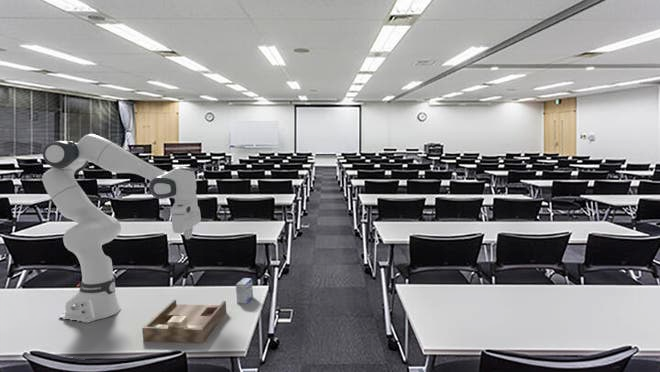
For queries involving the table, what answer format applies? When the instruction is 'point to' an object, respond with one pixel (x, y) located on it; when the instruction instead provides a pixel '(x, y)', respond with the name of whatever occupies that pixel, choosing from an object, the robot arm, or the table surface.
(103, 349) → the table surface
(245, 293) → the medicine box
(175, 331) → the box
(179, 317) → the block
